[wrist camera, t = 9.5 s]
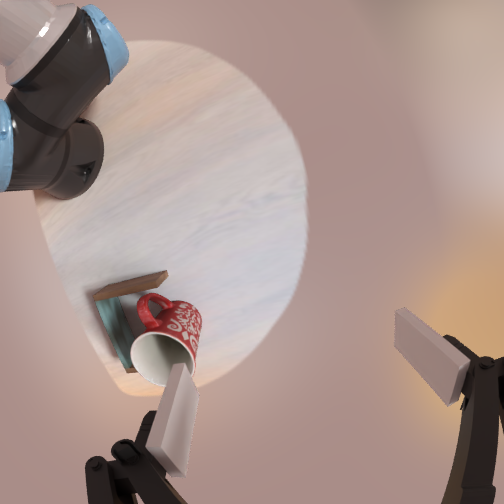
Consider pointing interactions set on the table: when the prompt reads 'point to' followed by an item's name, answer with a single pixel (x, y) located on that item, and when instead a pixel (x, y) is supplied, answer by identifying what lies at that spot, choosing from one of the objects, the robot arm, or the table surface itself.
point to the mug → (165, 338)
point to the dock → (115, 315)
